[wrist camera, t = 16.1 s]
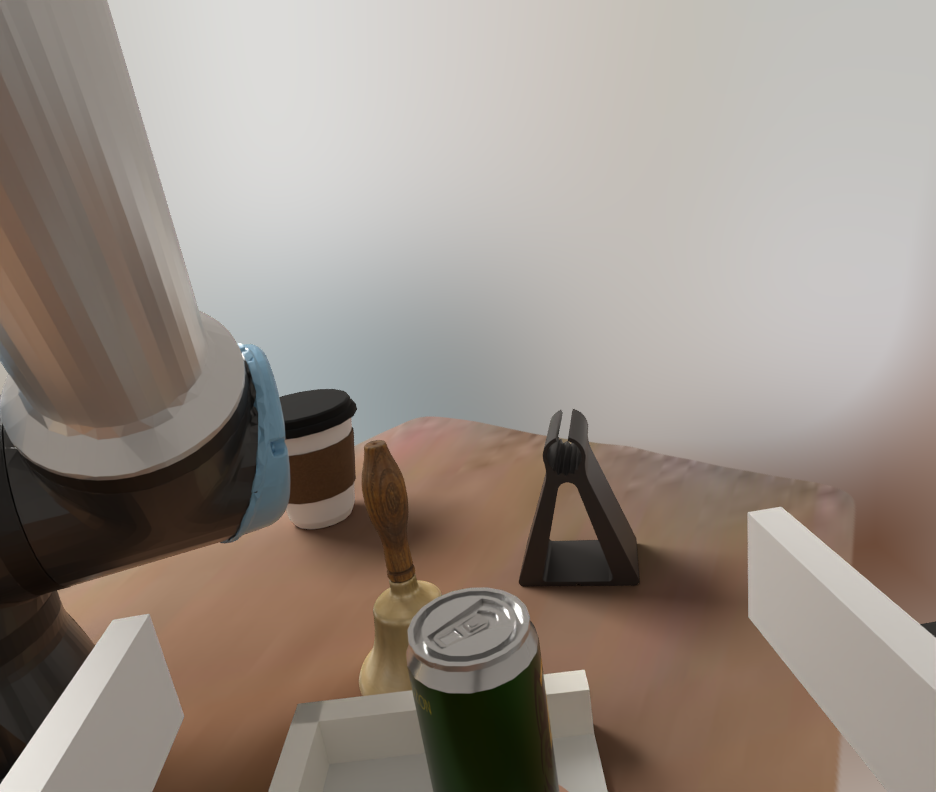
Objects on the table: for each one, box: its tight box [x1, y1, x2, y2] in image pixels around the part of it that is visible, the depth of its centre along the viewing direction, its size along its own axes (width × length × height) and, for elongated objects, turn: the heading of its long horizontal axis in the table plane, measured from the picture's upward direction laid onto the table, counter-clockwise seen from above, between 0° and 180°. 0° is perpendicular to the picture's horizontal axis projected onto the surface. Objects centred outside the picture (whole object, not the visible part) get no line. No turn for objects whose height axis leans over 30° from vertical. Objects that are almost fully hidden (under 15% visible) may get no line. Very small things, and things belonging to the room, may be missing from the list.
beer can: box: [406, 588, 559, 792], centre depth 28 cm, size 5×5×12 cm
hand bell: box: [359, 440, 442, 696], centre depth 41 cm, size 8×8×16 cm
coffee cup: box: [279, 389, 357, 529], centre depth 66 cm, size 11×11×12 cm
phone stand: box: [519, 409, 639, 586], centre depth 50 cm, size 9×6×12 cm, turn 78°
